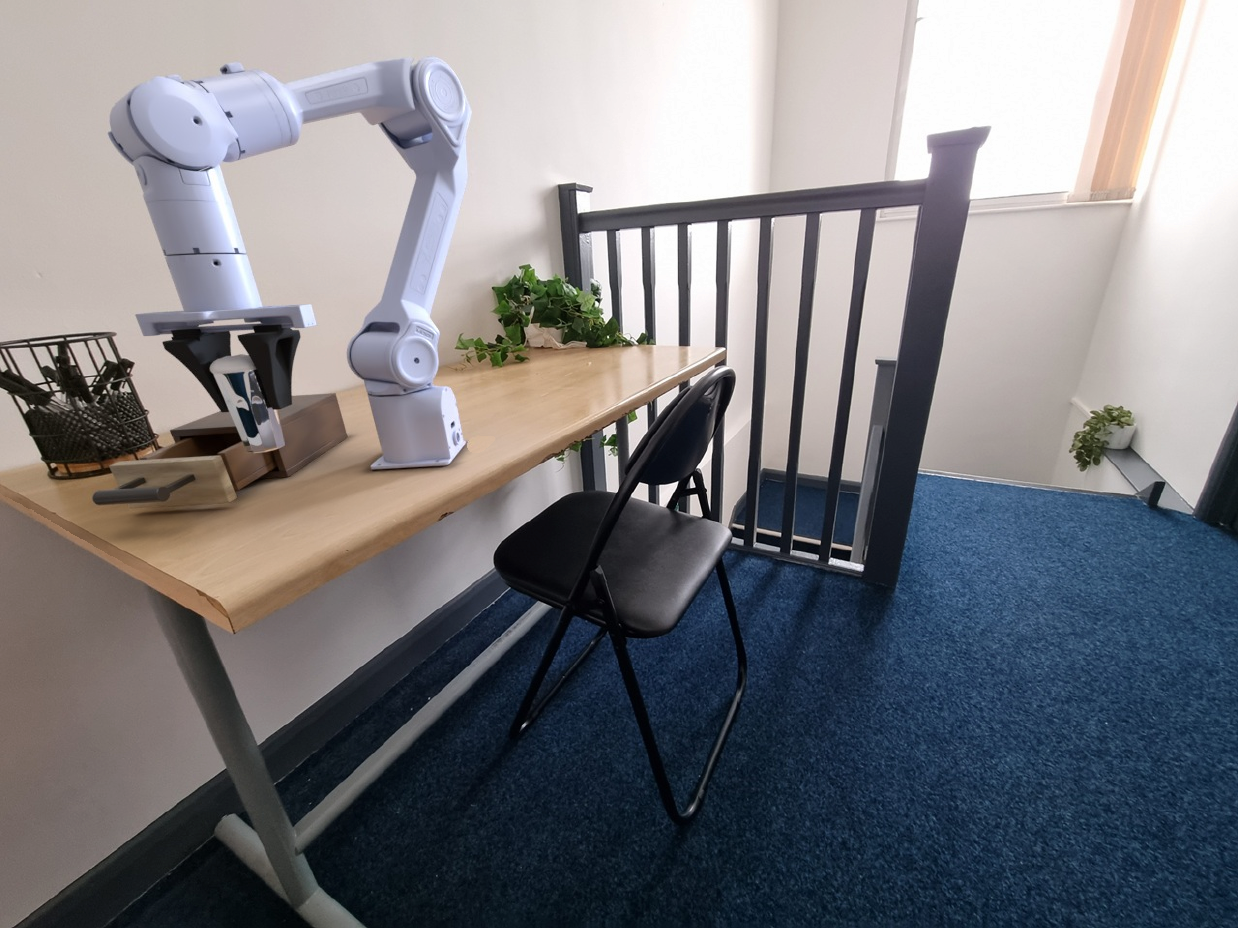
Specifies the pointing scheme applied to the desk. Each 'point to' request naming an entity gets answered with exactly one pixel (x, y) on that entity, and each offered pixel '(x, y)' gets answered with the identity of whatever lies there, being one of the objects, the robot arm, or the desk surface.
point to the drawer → (187, 473)
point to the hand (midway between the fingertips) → (257, 408)
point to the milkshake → (248, 403)
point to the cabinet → (286, 431)
